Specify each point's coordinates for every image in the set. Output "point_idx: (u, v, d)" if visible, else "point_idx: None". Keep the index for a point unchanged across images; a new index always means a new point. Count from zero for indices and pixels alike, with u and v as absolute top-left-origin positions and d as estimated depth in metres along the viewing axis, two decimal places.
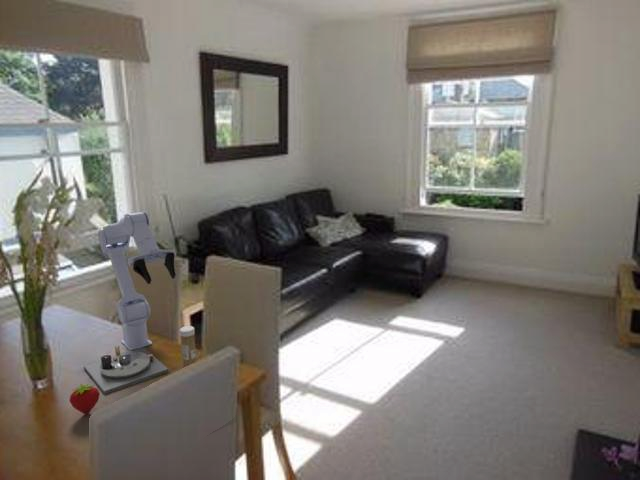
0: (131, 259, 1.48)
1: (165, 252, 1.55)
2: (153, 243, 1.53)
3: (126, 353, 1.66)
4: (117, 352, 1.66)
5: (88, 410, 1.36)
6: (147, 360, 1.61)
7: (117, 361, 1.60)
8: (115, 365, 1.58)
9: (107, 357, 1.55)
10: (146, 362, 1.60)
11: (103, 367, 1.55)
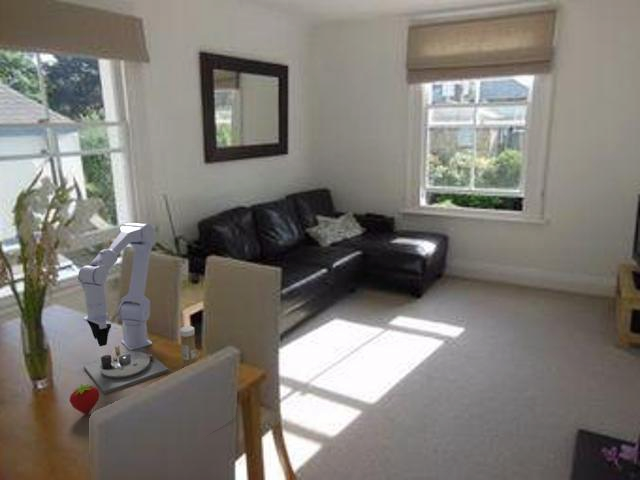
0: None
1: None
2: (88, 310, 1.54)
3: (126, 353, 1.66)
4: (117, 352, 1.66)
5: (88, 410, 1.36)
6: (147, 360, 1.61)
7: (117, 361, 1.60)
8: (115, 365, 1.58)
9: (107, 357, 1.55)
10: (146, 362, 1.60)
11: (103, 367, 1.55)
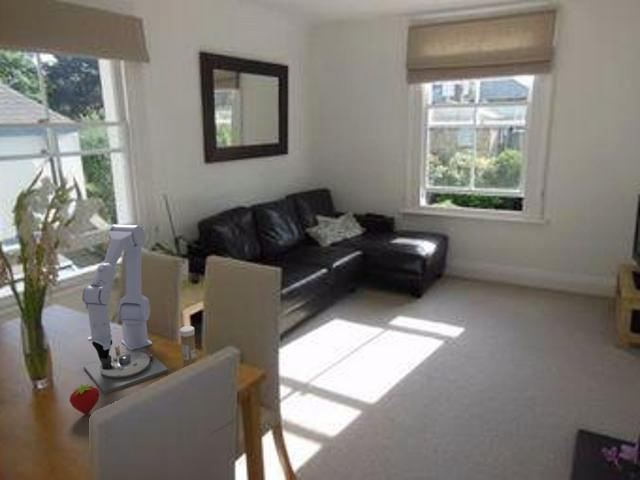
0: None
1: None
2: (92, 331, 1.53)
3: (126, 353, 1.66)
4: (117, 352, 1.66)
5: (88, 410, 1.36)
6: (147, 360, 1.61)
7: (117, 361, 1.60)
8: (115, 365, 1.58)
9: (107, 357, 1.55)
10: (146, 362, 1.60)
11: (103, 367, 1.55)
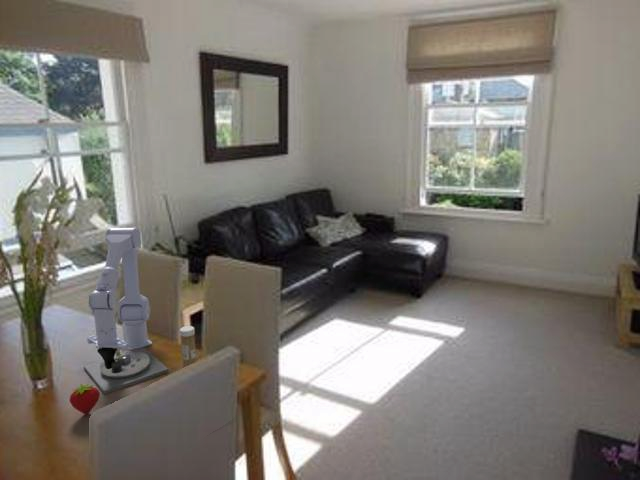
0: (88, 340, 1.54)
1: None
2: (102, 337, 1.49)
3: None
4: (117, 352, 1.66)
5: (88, 410, 1.36)
6: (142, 353, 1.66)
7: None
8: (121, 366, 1.57)
9: (118, 360, 1.54)
10: (144, 354, 1.65)
11: (117, 371, 1.53)
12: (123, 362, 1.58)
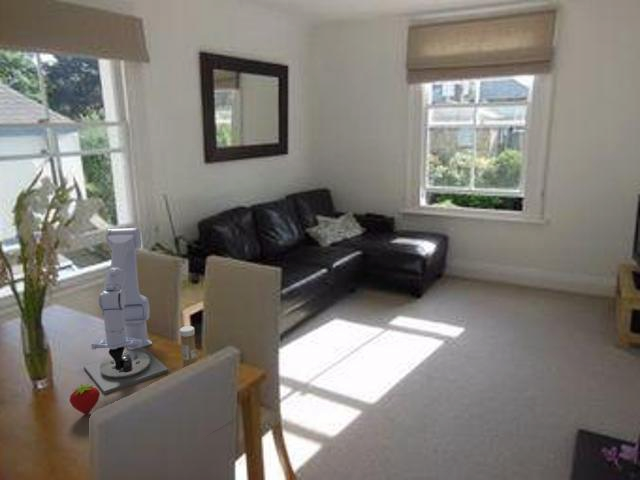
0: (93, 346, 1.50)
1: None
2: (117, 337, 1.48)
3: (104, 363, 1.59)
4: None
5: (88, 410, 1.36)
6: (132, 352, 1.66)
7: None
8: None
9: (128, 359, 1.55)
10: (136, 352, 1.66)
11: (130, 369, 1.54)
12: None
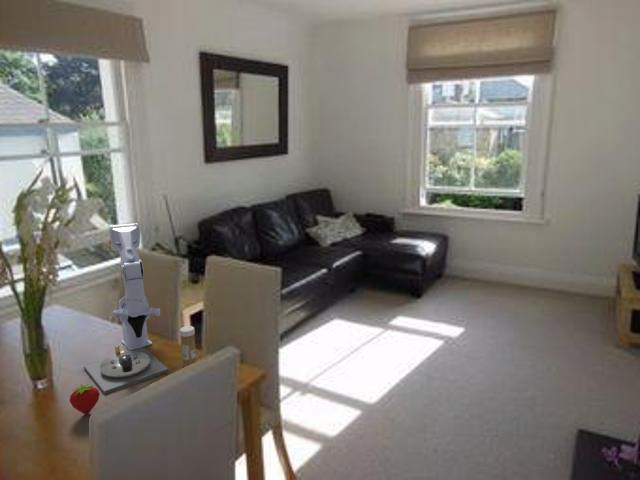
0: (115, 314, 1.60)
1: None
2: (137, 306, 1.58)
3: (104, 363, 1.59)
4: (117, 352, 1.66)
5: (88, 410, 1.36)
6: (132, 352, 1.66)
7: (119, 366, 1.57)
8: None
9: (128, 359, 1.55)
10: (135, 352, 1.66)
11: (130, 369, 1.54)
12: None
